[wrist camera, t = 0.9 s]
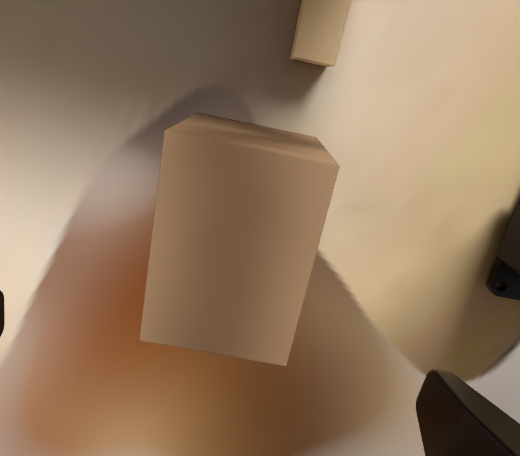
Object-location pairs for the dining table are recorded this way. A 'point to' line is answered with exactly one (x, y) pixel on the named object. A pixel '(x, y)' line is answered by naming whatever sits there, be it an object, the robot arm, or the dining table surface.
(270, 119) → the dining table surface
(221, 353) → the cabinet block
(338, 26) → the grey toy bench
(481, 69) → the dining table surface
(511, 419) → the robot arm
